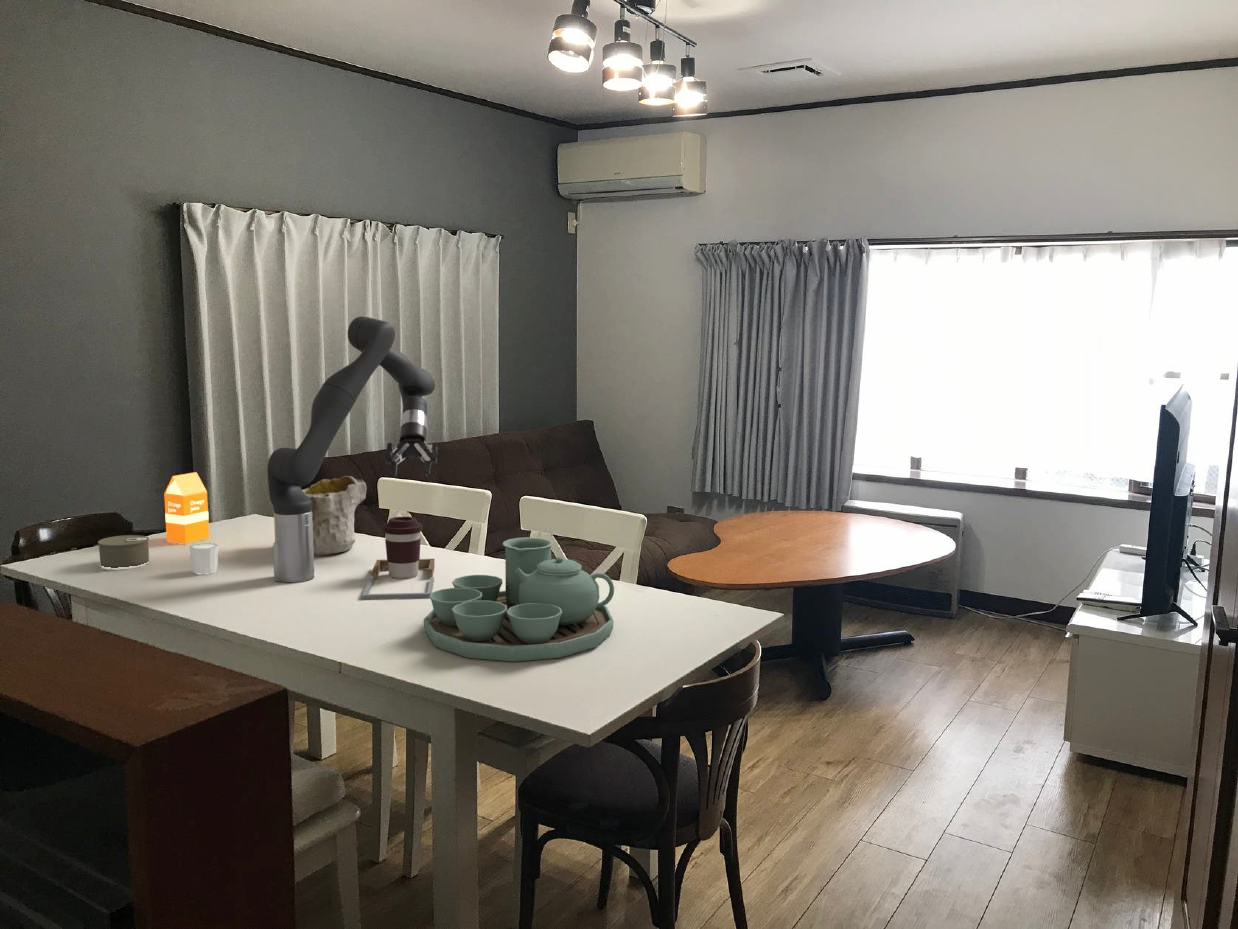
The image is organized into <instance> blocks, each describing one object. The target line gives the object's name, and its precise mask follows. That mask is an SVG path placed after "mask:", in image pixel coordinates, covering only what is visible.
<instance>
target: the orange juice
mask: <svg viewBox="0 0 1238 929" xmlns="http://www.w3.org/2000/svg"><path fill="white" fill-rule="evenodd" d="M163 494H164V508H165V509H164V511H165V512H164V514H165V516H164V517H165V530H166V542H167V541H172V542H178V543H184V544H186V543H189V542H193V541H198V540H201V539H205V538H209V539H210V524H209V508H208V506H209V504H208V491H207V489H206V487H205V485H204V484H203V481H202V479H201V478H200V476H199V474H198V473H197V471H195V472H189V473H183V474H177V475H172V477H171V479H170V482H169V484H168V485H167V487H166V489H165V491H164V493H163Z"/></svg>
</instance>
